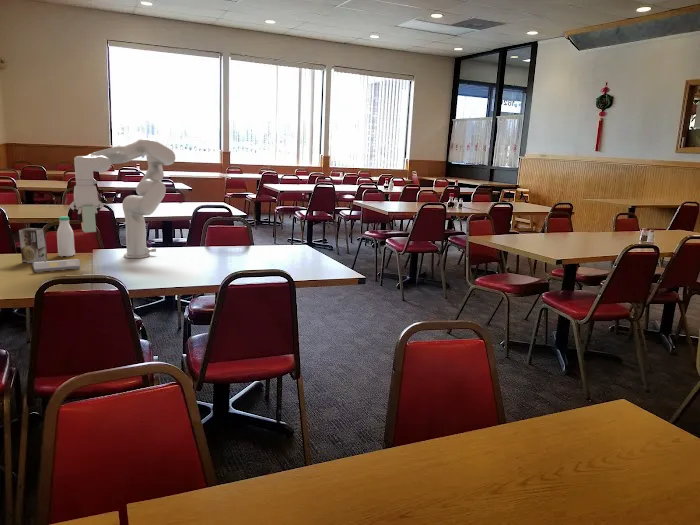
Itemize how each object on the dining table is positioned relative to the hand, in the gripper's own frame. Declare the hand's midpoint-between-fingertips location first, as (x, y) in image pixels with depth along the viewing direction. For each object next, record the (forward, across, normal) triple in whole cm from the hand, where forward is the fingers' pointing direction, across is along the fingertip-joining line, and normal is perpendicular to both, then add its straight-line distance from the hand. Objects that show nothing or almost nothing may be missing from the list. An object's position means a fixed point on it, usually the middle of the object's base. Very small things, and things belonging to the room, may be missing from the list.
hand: (88, 221), depth 256 cm
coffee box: (+21, +23, -17) cm, 35 cm away
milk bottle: (+21, +8, -28) cm, 36 cm away
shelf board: (+21, +15, +1) cm, 26 cm away
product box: (+5, 0, 0) cm, 5 cm away
